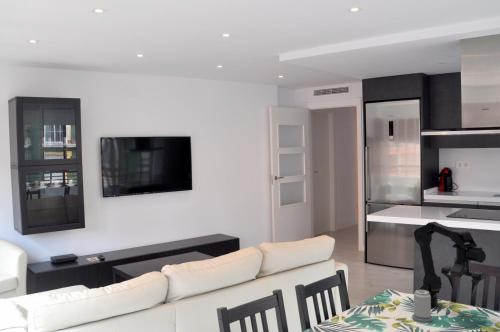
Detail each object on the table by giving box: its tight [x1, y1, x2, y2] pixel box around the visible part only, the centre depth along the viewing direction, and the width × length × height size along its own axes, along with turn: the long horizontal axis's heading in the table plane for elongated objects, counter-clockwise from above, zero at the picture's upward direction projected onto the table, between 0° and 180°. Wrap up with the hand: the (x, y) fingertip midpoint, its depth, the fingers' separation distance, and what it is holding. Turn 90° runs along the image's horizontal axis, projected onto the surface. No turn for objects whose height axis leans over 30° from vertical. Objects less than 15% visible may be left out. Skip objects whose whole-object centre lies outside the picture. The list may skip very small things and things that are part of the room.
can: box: [413, 289, 432, 319], centre depth 227 cm, size 8×8×12 cm
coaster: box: [411, 313, 434, 324], centre depth 228 cm, size 9×9×1 cm
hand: (462, 291), depth 227 cm, fingers open, 9 cm apart
